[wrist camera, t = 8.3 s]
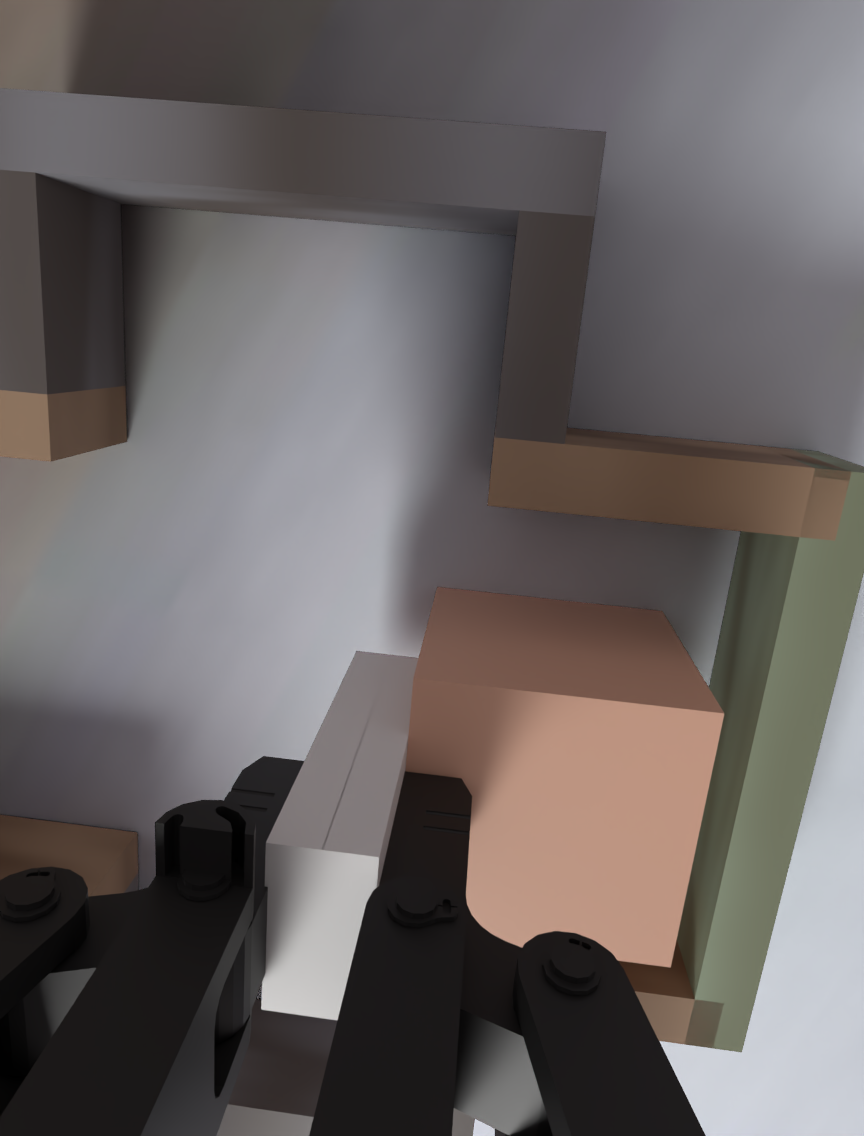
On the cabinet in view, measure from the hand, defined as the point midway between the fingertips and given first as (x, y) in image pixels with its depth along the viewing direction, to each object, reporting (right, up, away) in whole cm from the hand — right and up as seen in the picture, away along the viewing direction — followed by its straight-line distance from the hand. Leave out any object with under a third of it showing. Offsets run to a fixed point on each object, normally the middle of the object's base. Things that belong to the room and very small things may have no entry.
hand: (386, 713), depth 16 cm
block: (+3, 0, +2) cm, 4 cm away
